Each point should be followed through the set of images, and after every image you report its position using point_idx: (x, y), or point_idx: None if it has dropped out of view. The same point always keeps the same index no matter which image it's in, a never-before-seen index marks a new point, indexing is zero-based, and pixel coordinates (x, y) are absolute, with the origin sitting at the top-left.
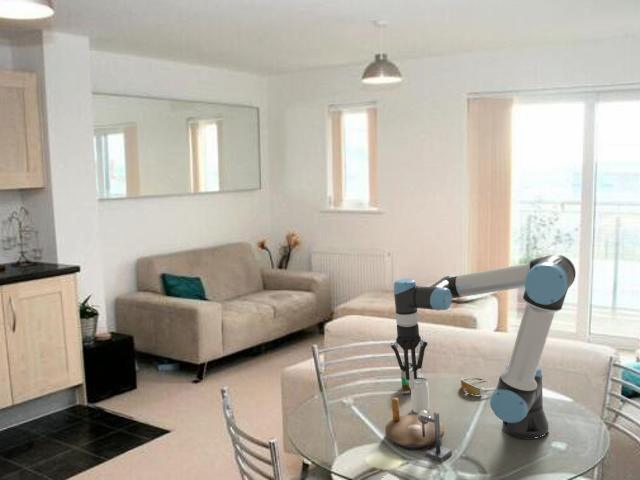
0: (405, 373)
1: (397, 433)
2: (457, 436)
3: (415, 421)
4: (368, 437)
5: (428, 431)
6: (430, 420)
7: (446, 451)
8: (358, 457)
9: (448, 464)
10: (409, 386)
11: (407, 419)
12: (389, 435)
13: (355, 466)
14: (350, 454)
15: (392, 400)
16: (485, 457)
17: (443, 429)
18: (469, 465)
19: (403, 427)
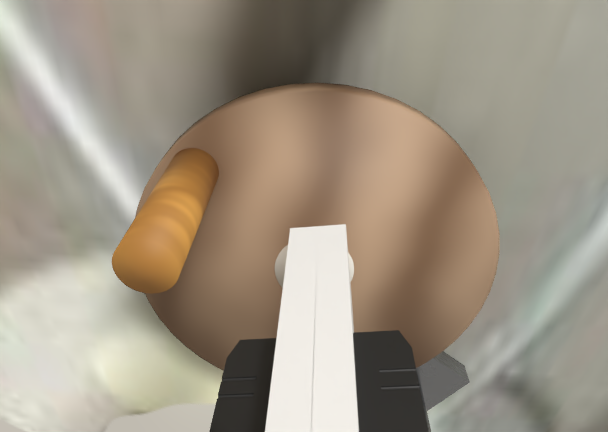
0: (215, 429)
1: (215, 319)
2: (550, 227)
3: (327, 197)
4: (53, 200)
5: (391, 314)
6: None
7: (444, 389)
8: (59, 357)
9: (430, 418)
10: (291, 237)
11: (273, 165)
12: (172, 333)
13: (67, 406)
14: (15, 335)
15: (126, 282)
16: (596, 391)
17: (482, 302)
18: (508, 428)
19: (247, 263)
